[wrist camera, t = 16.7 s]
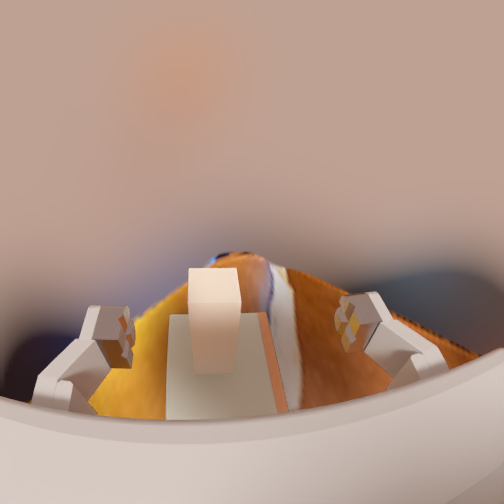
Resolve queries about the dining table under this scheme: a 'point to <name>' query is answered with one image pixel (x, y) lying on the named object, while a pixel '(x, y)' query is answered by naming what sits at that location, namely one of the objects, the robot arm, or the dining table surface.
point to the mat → (224, 375)
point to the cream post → (214, 318)
